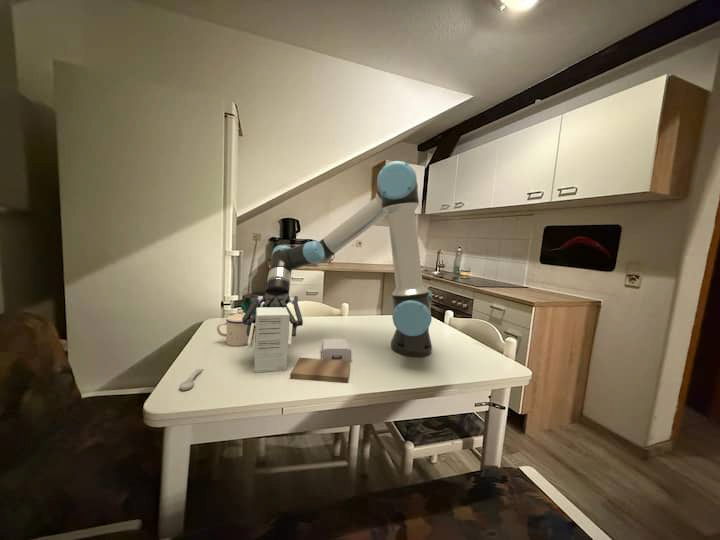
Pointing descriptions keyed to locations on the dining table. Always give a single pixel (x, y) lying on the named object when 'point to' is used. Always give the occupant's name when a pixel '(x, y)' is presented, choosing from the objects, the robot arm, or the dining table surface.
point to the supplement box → (271, 339)
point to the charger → (336, 349)
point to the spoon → (190, 380)
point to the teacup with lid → (235, 330)
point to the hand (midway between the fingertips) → (269, 345)
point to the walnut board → (321, 370)
